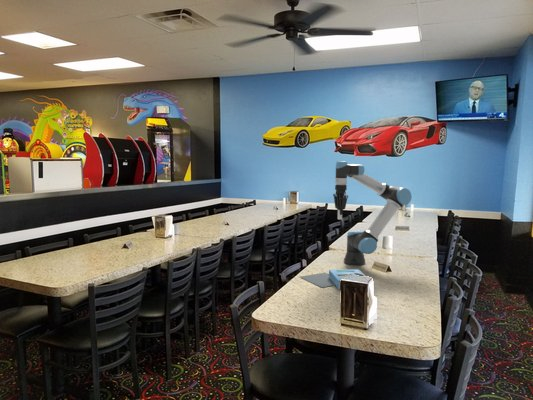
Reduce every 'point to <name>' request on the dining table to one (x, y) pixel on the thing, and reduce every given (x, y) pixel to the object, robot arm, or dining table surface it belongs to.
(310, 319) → the dining table surface
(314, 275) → the mat
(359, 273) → the gum box
